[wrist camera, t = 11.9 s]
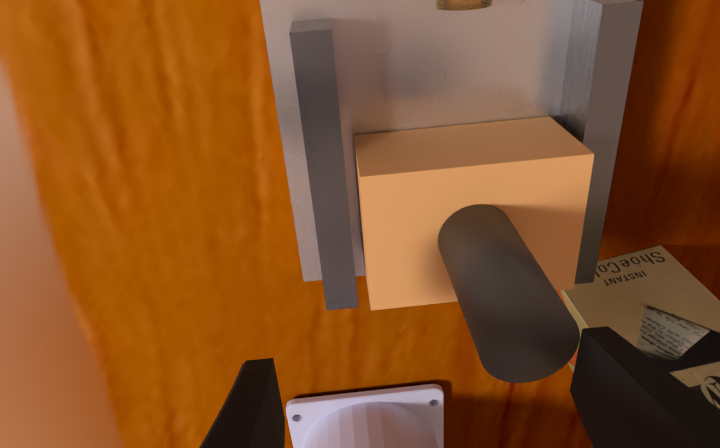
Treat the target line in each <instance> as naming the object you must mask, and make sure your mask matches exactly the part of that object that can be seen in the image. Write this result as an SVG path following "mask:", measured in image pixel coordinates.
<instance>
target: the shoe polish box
mask: <svg viewBox="0 0 720 448" xmlns="http://www.w3.org/2000/svg"><path fill="white" fill-rule="evenodd" d="M556 292H557V293H558V295H559V296H560V298H561V299H562V301H563V303H564V304H565V306H566V307H567V309H568V310H569V312H570V313H571V315H572V316H573V318H574V319H575V321H576V323H577V325H578V327H579V331H580V337H581V332H582V329H584V328H594V327H605V326H608V327H610V328H611V329H612V330H614V331H615V332H617V333H618V334H619V335H621V336H622V337H623V338H625V339H626V340H627V341H628V342H630V343H631V344H632V345H634V346H635V347H636V348H638V349H639V350H640V351H641V352H643V353H644V354H645V355H647V356H648V357H649V358H651V359H652V360H653V361H655V362H656V363H657V364H658V365H660V366H661V367H662V368H664V369H665V370H666V371H668V372H669V373H670V374H672V375H673V376H674V377H676V378H677V379H678V380H680V381H681V382H683V383H684V384H685V385H687V386H688V387H689V388H691V389H692V390H694V391H695V392H696V393H698V394H699V395H701V396H702V397H703V398H705V399H706V400H708V401H709V402H710V403H712V404H713V405H715V406H716V407H718V408H719V409H720V301H719V300H718V299H717V298H716V297H715V296H714V295H713V294H712V293H711V292H710V291H709V290H708V289H707V288H706V287H705V286H704V285H703V284H701V283H700V282H699V281H698V280H697V279H696V278H695V277H694V276H693V275H692V274H691V273H690V272H689V271H688V270H687V269H686V268H685V267H683V266H682V265H681V264H680V263H679V262H678V261H677V260H676V259H675V258H674V257H673V256H672V255H671V254H670V253H669V252H668V251H666V250H665V249H664V248H663V247H662V246H661V245H659V246H655V247H651V248H647V249H643V250H640V251H636V252H632V253H628V254H624V255H620V256H616V257H612V258H608V259H604V260H601V261H597V266H596V271H595V277H594V282H592V283H583V284H574V288H573V289H570V290H560V291H556ZM579 342H580V341H579ZM578 348H579V345H578ZM578 348H577V350H576V352H575V354H574V355H573V357H572V358H571V359H570V361H569V362H568V364H569V366H570V368H571V370H572V372H573V373H574V368H575V363H576V358H577V353H578Z"/></svg>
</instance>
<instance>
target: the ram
mask: <svg viewBox="0 0 720 448" xmlns="http://www.w3.org/2000/svg"><path fill="white" fill-rule="evenodd" d="M353 144H354V155H355V167H356V179H357V190H358V202H359V213H360V225H361V237H362V248H363V258H364V265H365V272H366V279H367V286H368V293H369V300H370V307H371V310H379V309H389V308H398V307H408V306H417V305H427V304H437V303H446V302H456V301H459V304H460V307H461V309H462V312H463V315H464V317H465V320H466V323H467V325H468V328H469V331H470V333H471V336H472V339H473V341H474V344H475V347H476V349H477V352H478V355H479V357H480V360H481V362H482V365H483V366H484V368H485V369H486V371H487V372H488V373H490V374H491V375H492V376H494V377H496V378H497V379H500V380H503V381H507V382H513V383H524V382H532V381H536V380H539V379H542V378H545V377H547V376H549V375H551V374H553V373H555V372H557V371H558V370H559V369H561V368H562V367H563V366H564V365H566V364H567V363H568V362H569V361H570V359H571V358H572V357H573V355H574V354H575V352H576V350H577V348H578V345H579V341H580V331H579V327H578V325H577V323H576V321H575V319H574V318H573V316H572V315H571V313H570V312H569V310H568V309H567V307H566V306H565V304H564V303H563V301H562V299H561V298H560V296H559V295H558V293H557V292H556V291H560V290H570V289H573V288H574V282H575V275H576V269H577V263H578V256H579V250H580V243H581V237H582V231H583V224H584V218H585V211H586V205H587V199H588V192H589V186H590V179H591V173H592V167H593V160H594V153H593V152H592V151H590V150H589V149H588V148H587V147H586V146H584V145H583V144H582V143H581V142H580V141H578V140H577V139H576V138H575V137H574V136H572V135H571V134H570V133H569V132H568V131H566V130H565V129H564V128H563V127H562V126H560V125H559V124H558V123H557V122H556V121H555V120H553V119H552V118H551V117H550V116H548V117H538V118H528V119H517V120H507V121H497V122H486V123H476V124H466V125H455V126H445V127H435V128H424V129H414V130H404V131H393V132H383V133H373V134H362V135H353Z"/></svg>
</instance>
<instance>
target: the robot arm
mask: <svg viewBox="0 0 720 448" xmlns="http://www.w3.org/2000/svg"><path fill="white" fill-rule="evenodd" d="M570 392H571V395H572V398H573V400H574V403H575V406H576V408H577V411H578V414H579V416H580V418H581V421H582V423H583V426H584V428H585V431H586V433H587V435H588V437H589V439H590V441H591V443H592V444H593V446H594V448H720V409H719V408H718V407H716V406H715V405H713V404H712V403H710V402H709V401H708V400H706V399H705V398H703V397H702V396H701V395H699V394H698V393H696V392H695V391H694V390H692V389H691V388H689V387H688V386H687V385H685V384H684V383H683V382H681V381H680V380H678V379H677V378H676V377H674V376H673V375H672V374H670V373H669V372H668V371H666V370H665V369H664V368H662V367H661V366H660V365H658V364H657V363H656V362H655V361H653V360H652V359H651V358H649V357H648V356H647V355H645V354H644V353H643V352H641V351H640V350H639V349H638V348H636V347H635V346H634V345H632V344H631V343H630V342H628V341H627V340H626V339H625V338H623V337H622V336H621V335H619V334H618V333H617V332H615V331H614V330H612V329H611V328H610V327H608V326H605V327H594V328H584V329H582V332H581V337H580V342H579V348H578V353H577V358H576V363H575V368H574V373H573V378H572V383H571V388H570ZM434 399H435V400H434ZM431 400H433V401H431ZM286 414H287V419H288V424H289V428H290V433H291V438H292V443H293V448H443V446H444V393H443V390H442V387H441V386H440V385H438V384H427V385H418V386H409V387H399V388H390V389H381V390H372V391H363V392H354V393H344V394H335V395H326V396H317V397H308V398H298V399H293V400H290V401H289V402H288V403H287V404H286ZM284 442H285V418H284V413H283V408H282V402H281V397H280V392H279V387H278V382H277V376H276V371H275V366H274V361H273V358H269V359H259V360H248V361H246V362H245V363H244V364H243V365H242V367H241V369H240V371H239V374H238V376H237V378H236V380H235V382H234V385H233V387H232V389H231V391H230V393H229V395H228V397H227V399H226V401H225V403H224V405H223V407H222V408H221V410H220V412H219V414H218V416H217V418H216V419H215V421H214V423H213V425H212V427H211V428H210V430H209V432H208V434H207V435H206V437H205V439H204V441H203V442H202V444H201V446H200V447H199V448H284Z"/></svg>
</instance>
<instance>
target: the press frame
mask: <svg viewBox="0 0 720 448" xmlns="http://www.w3.org/2000/svg"><path fill="white" fill-rule="evenodd" d="M643 2H644V0H492V6H490V7H487V8H482V9H475V10H463V11H447V10H439V9H437V8H436V0H260V6H261V12H262V19H263V25H264V31H265V38H266V44H267V50H268V57H269V63H270V69H271V76H272V82H273V89H274V95H275V101H276V108H277V114H278V120H279V127H280V133H281V140H282V146H283V152H284V159H285V165H286V171H287V178H288V184H289V190H290V197H291V203H292V210H293V216H294V222H295V229H296V235H297V241H298V248H299V254H300V261H301V267H302V273H303V280H304V282H305V281H314V280H323V287H324V295H325V302H326V309H327V310H335V309H345V308H354V307H358V298H357V287H356V277H355V276H363V275H366V272H365V265H364V258H363V248H362V237H361V225H360V213H359V202H358V190H357V179H356V167H355V155H354V144H353V135H362V134H373V133H383V132H393V131H404V130H414V129H424V128H435V127H445V126H455V125H466V124H476V123H486V122H497V121H507V120H517V119H528V118H538V117H548V116H550V117H551V118H552V119H553V120H555V121H556V122H557V123H558V124H559V125H560V126H562V127H563V128H564V129H565V130H566V131H568V132H569V133H570V134H571V135H572V136H574V137H575V138H576V139H577V140H578V141H580V142H581V143H582V144H583V145H584V146H586V147H587V148H588V149H589V150H590V151H592V152H593V153H594V160H593V167H592V173H591V179H590V186H589V192H588V199H587V205H586V211H585V218H584V224H583V231H582V237H581V243H580V250H579V256H578V263H577V269H576V275H575V282H574V284H583V283H592V282H594V277H595V271H596V266H597V260H598V255H599V249H600V243H601V238H602V232H603V227H604V221H605V215H606V210H607V204H608V198H609V193H610V187H611V182H612V176H613V170H614V165H615V159H616V154H617V148H618V142H619V137H620V131H621V126H622V120H623V114H624V109H625V103H626V98H627V92H628V86H629V81H630V75H631V69H632V64H633V58H634V53H635V47H636V41H637V36H638V30H639V25H640V19H641V13H642V8H643Z"/></svg>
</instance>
